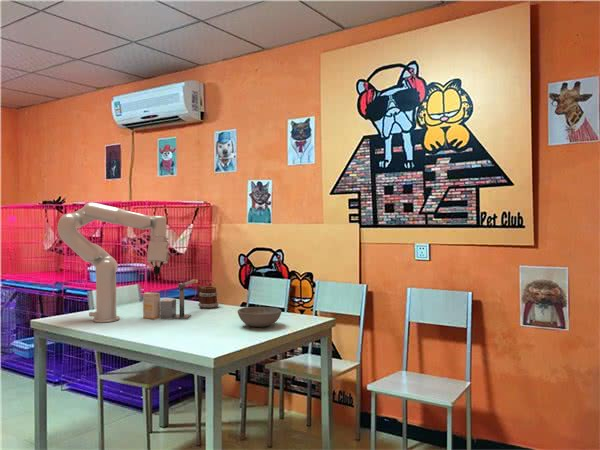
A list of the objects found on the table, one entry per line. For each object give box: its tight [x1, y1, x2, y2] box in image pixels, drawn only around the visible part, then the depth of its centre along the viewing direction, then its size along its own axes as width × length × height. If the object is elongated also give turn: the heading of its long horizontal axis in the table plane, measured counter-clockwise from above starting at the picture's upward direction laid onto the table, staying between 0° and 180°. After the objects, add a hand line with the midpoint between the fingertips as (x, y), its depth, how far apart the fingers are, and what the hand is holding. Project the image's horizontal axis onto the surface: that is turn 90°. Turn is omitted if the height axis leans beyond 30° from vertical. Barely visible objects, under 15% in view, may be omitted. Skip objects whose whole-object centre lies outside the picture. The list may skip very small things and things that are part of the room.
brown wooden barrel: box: [196, 284, 219, 310], centre depth 284 cm, size 12×14×15 cm
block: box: [159, 298, 177, 320], centre depth 254 cm, size 6×8×9 cm
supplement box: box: [142, 291, 161, 320], centre depth 254 cm, size 8×5×13 cm, turn 58°
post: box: [171, 288, 192, 320], centre depth 253 cm, size 8×8×16 cm
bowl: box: [237, 306, 283, 328], centre depth 233 cm, size 21×21×8 cm
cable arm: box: [177, 279, 199, 289], centre depth 261 cm, size 20×4×2 cm, turn 171°
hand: (156, 274), depth 254 cm, fingers closed
